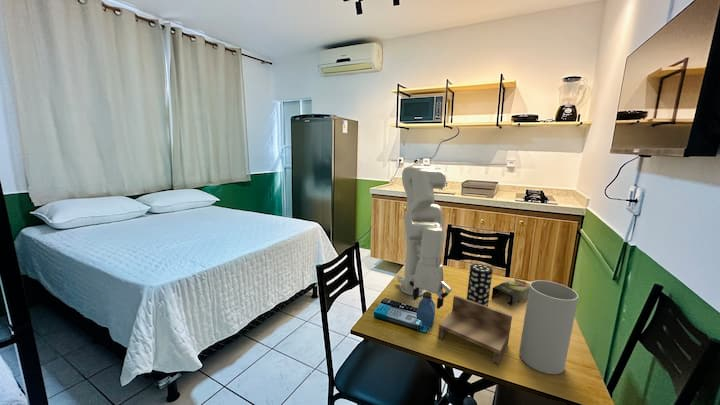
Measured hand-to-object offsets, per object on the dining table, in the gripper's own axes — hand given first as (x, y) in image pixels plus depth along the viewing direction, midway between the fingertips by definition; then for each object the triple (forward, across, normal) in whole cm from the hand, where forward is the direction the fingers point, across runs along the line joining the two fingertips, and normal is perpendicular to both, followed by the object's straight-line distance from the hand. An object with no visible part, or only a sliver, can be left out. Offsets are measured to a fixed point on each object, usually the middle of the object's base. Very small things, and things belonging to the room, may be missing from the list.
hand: (427, 302), depth 110 cm
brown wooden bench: (+9, +17, +1) cm, 20 cm away
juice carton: (+8, +21, +47) cm, 52 cm away
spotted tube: (+9, +12, +21) cm, 26 cm away
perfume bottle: (+9, -1, +1) cm, 9 cm away
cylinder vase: (+10, +37, +7) cm, 39 cm away
